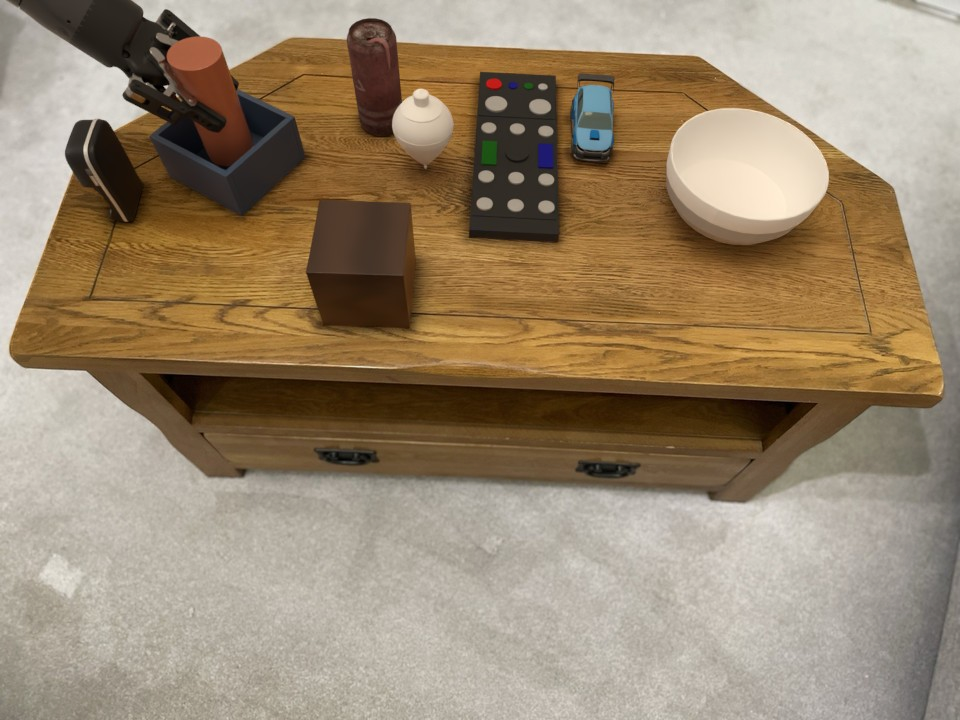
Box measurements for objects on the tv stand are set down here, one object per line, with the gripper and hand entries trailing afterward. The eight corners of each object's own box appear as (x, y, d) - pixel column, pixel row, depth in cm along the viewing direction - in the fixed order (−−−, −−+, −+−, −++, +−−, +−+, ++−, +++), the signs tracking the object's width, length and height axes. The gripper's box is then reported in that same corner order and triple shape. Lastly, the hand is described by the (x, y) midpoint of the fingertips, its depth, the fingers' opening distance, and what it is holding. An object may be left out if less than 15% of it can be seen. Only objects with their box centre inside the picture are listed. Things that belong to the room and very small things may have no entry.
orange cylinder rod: (261, 157, 85) (228, 61, 73) (215, 172, 84) (174, 76, 72) (246, 128, 88) (212, 30, 76) (201, 142, 87) (160, 44, 74)
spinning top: (386, 161, 90) (377, 85, 79) (435, 140, 92) (432, 64, 82) (414, 197, 87) (408, 123, 76) (464, 175, 89) (465, 100, 78)
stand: (323, 325, 76) (305, 272, 68) (334, 257, 81) (319, 199, 73) (409, 328, 77) (403, 275, 68) (415, 259, 82) (410, 202, 73)
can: (385, 144, 91) (374, 53, 79) (351, 124, 93) (335, 32, 81) (413, 121, 94) (407, 29, 82) (380, 102, 96) (368, 9, 84)
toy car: (568, 165, 90) (574, 132, 85) (569, 106, 96) (575, 71, 91) (611, 168, 90) (620, 135, 85) (610, 109, 96) (618, 75, 91)
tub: (242, 216, 84) (225, 177, 78) (169, 176, 87) (148, 136, 82) (305, 157, 90) (294, 116, 84) (235, 122, 93) (219, 80, 87)
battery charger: (115, 184, 87) (71, 112, 77) (145, 183, 87) (104, 111, 77) (103, 225, 83) (54, 155, 73) (134, 224, 83) (90, 154, 73)
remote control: (554, 84, 99) (556, 72, 97) (557, 242, 84) (559, 231, 82) (479, 80, 99) (480, 68, 97) (469, 237, 84) (469, 226, 82)
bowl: (817, 197, 89) (850, 146, 81) (766, 292, 80) (797, 246, 73) (687, 140, 93) (708, 88, 86) (627, 225, 85) (643, 175, 78)
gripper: (72, 29, 64) (232, 133, 74) (117, -53, 71) (257, 51, 82) (46, 75, 69) (200, 166, 79) (91, -7, 76) (227, 86, 86)
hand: (228, 107), depth 80 cm, fingers closed on orange cylinder rod, 6 cm apart
